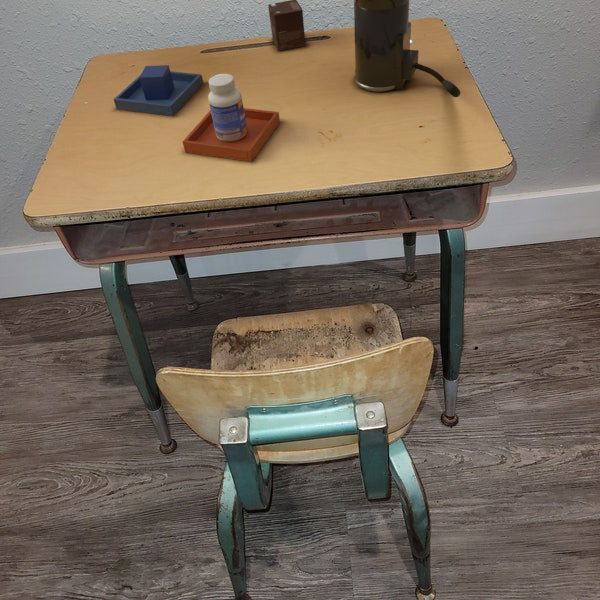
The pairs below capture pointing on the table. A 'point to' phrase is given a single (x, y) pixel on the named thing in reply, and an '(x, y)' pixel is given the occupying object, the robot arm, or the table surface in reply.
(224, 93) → the pill bottle
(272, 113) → the warm tray
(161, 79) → the blue block
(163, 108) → the blue tray
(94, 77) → the table surface
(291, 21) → the box
